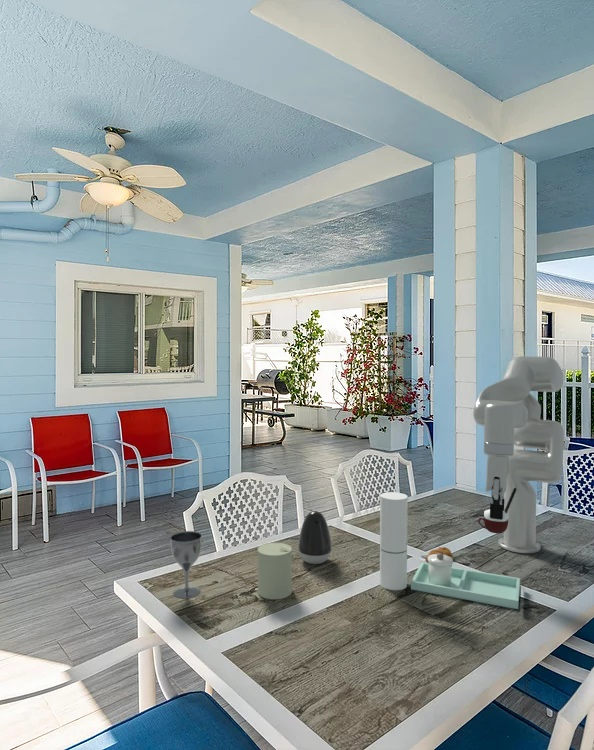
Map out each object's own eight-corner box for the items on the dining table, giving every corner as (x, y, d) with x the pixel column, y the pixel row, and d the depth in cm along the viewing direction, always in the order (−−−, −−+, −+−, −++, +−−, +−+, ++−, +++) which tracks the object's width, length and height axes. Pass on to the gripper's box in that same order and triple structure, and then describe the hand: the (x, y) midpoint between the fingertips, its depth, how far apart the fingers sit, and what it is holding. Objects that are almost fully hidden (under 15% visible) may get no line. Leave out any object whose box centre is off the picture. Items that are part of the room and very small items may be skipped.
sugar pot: (429, 575, 146) (430, 547, 146) (454, 580, 143) (454, 550, 143) (425, 585, 140) (425, 555, 140) (450, 590, 137) (451, 559, 137)
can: (284, 602, 133) (284, 555, 132) (251, 596, 136) (251, 550, 136) (297, 586, 142) (297, 543, 141) (265, 581, 145) (265, 538, 144)
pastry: (439, 571, 152) (439, 558, 152) (419, 564, 157) (419, 551, 157) (455, 561, 159) (455, 549, 159) (436, 555, 164) (436, 543, 164)
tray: (421, 572, 151) (421, 562, 151) (519, 589, 140) (519, 578, 140) (410, 592, 138) (411, 581, 138) (518, 613, 127) (518, 601, 127)
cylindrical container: (408, 584, 143) (409, 493, 142) (404, 595, 136) (405, 500, 135) (382, 580, 146) (382, 491, 144) (377, 591, 139) (378, 498, 138)
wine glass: (175, 601, 133) (175, 543, 132) (168, 589, 140) (167, 534, 140) (206, 595, 137) (205, 538, 136) (197, 583, 144) (196, 529, 143)
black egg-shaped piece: (302, 569, 153) (302, 518, 152) (295, 555, 163) (295, 507, 162) (336, 566, 155) (336, 515, 154) (326, 553, 165) (326, 505, 164)
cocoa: (477, 532, 142) (475, 488, 142) (483, 526, 147) (481, 483, 147) (514, 538, 137) (512, 492, 136) (519, 531, 142) (517, 487, 142)
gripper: (486, 443, 151) (485, 506, 151) (480, 452, 135) (479, 522, 136) (514, 445, 148) (513, 509, 148) (512, 455, 132) (510, 526, 132)
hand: (497, 514), depth 142 cm, fingers closed on cocoa, 5 cm apart
